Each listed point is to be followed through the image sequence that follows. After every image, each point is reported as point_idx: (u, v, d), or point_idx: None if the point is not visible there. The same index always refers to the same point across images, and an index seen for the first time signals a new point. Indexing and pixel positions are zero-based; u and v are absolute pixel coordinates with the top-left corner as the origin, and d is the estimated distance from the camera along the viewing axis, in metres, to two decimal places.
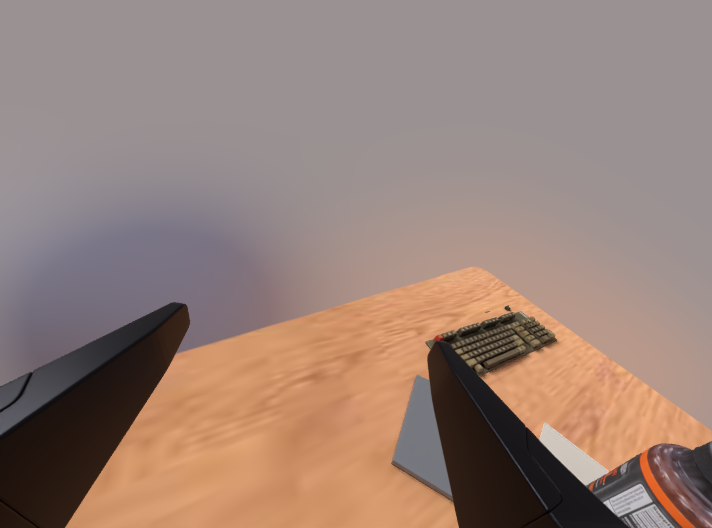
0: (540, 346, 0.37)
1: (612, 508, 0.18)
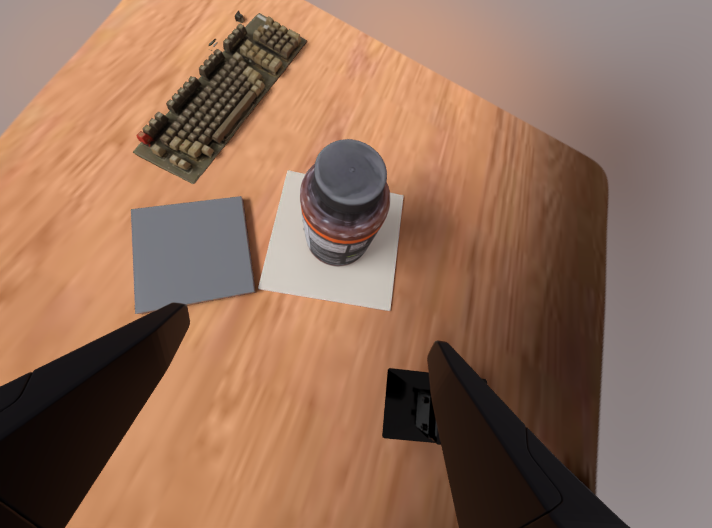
0: (285, 65, 0.29)
1: (306, 234, 0.20)
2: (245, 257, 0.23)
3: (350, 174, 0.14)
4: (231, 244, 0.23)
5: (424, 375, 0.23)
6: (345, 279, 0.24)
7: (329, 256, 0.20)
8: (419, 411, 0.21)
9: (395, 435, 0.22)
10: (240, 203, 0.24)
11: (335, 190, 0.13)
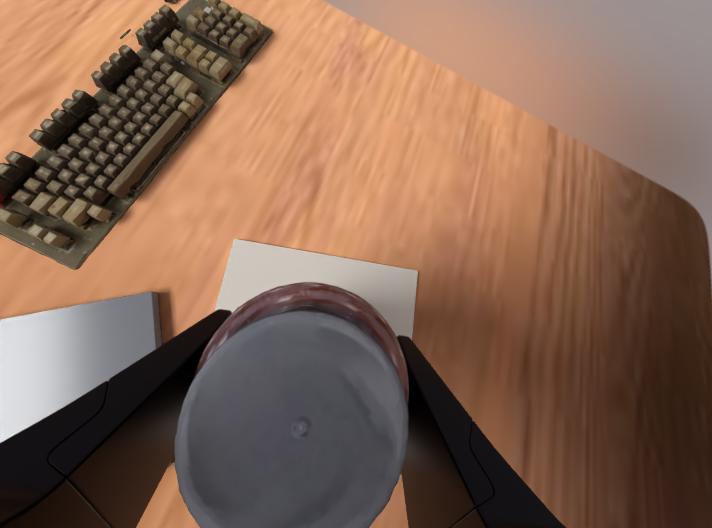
0: (239, 68, 0.19)
1: None
2: None
3: (293, 448, 0.04)
4: None
5: None
6: None
7: None
8: None
9: None
10: (149, 304, 0.14)
11: (240, 524, 0.04)
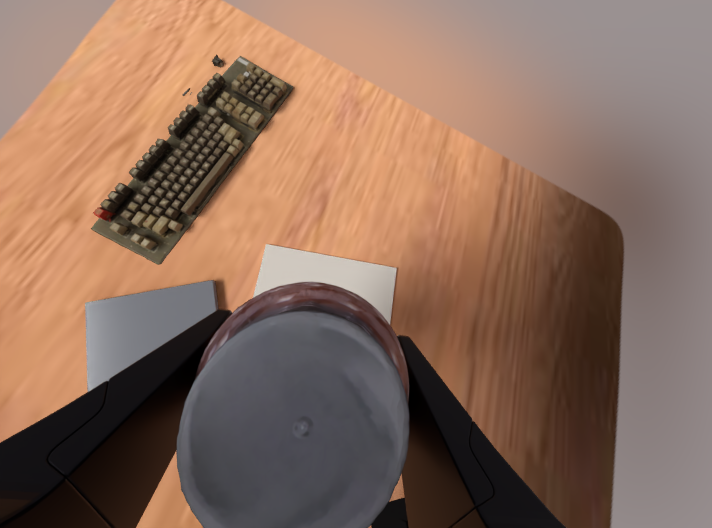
0: (268, 117, 0.26)
1: None
2: None
3: (295, 448, 0.04)
4: None
5: None
6: None
7: None
8: None
9: None
10: (211, 288, 0.21)
11: (242, 523, 0.04)
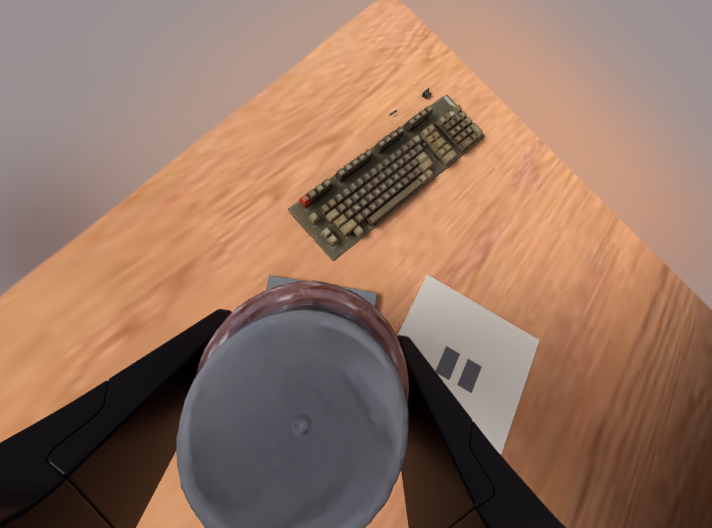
0: (457, 157, 0.27)
1: None
2: None
3: (294, 446, 0.04)
4: None
5: None
6: None
7: None
8: None
9: None
10: (373, 300, 0.22)
11: (241, 520, 0.04)
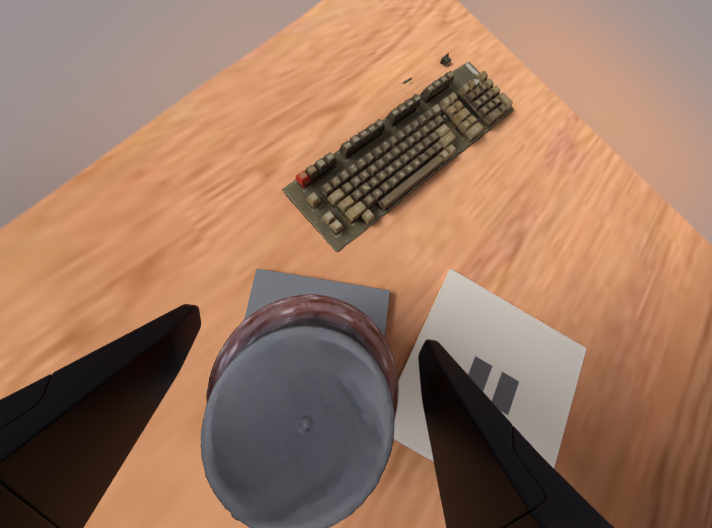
0: (482, 132, 0.23)
1: None
2: None
3: (299, 442, 0.05)
4: None
5: None
6: None
7: None
8: None
9: None
10: (386, 300, 0.18)
11: (256, 503, 0.05)
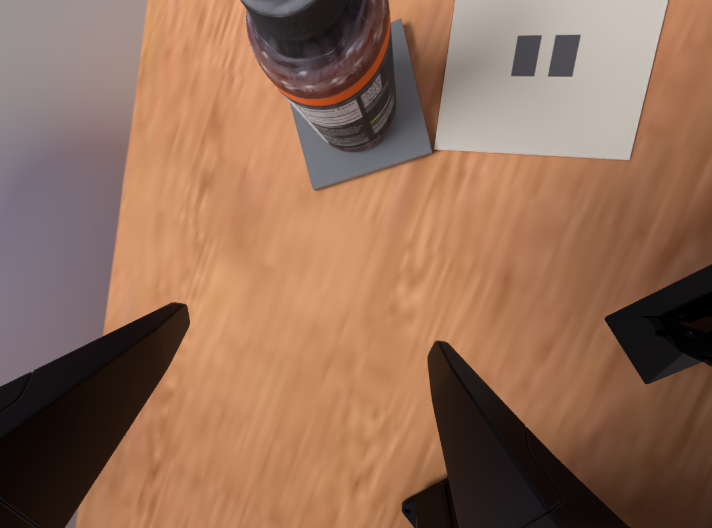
0: None
1: (309, 123, 0.15)
2: (416, 108, 0.18)
3: None
4: (397, 93, 0.18)
5: (656, 296, 0.17)
6: (556, 120, 0.17)
7: (349, 136, 0.15)
8: (685, 342, 0.16)
9: (662, 374, 0.17)
10: (401, 30, 0.17)
11: None
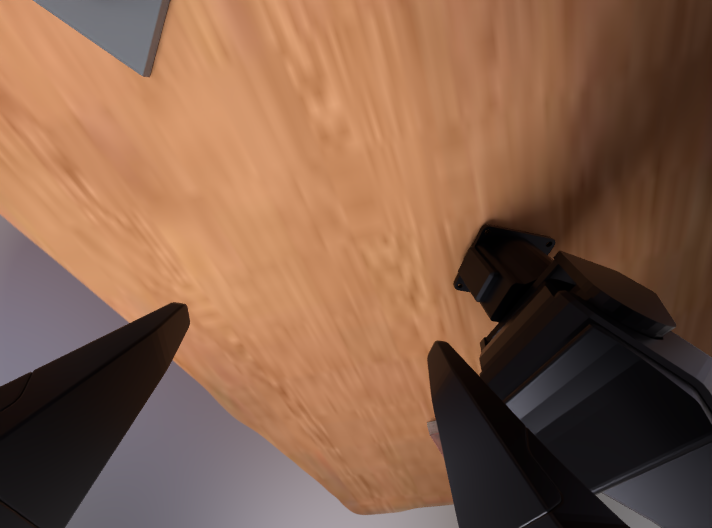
0: None
1: None
2: None
3: None
4: None
5: None
6: None
7: None
8: None
9: None
10: None
11: None
